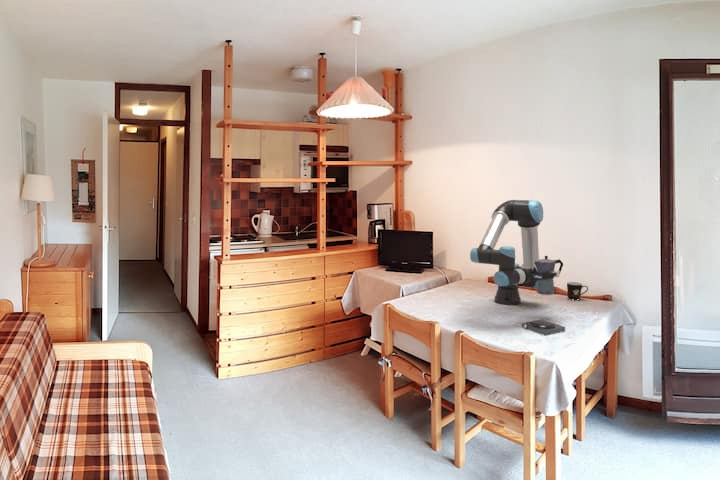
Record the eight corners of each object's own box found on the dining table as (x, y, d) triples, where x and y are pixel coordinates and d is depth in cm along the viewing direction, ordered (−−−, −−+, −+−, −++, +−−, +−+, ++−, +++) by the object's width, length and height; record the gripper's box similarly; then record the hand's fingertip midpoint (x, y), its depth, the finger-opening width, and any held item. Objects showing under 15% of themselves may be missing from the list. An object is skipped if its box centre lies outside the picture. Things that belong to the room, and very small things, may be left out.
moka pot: (528, 290, 250) (530, 254, 247) (555, 290, 251) (558, 254, 248) (536, 295, 240) (539, 257, 237) (564, 295, 242) (567, 257, 239)
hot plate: (541, 323, 238) (542, 318, 238) (565, 330, 226) (565, 326, 226) (520, 327, 231) (520, 322, 231) (543, 335, 219) (543, 330, 219)
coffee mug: (565, 300, 285) (565, 284, 283) (567, 297, 292) (568, 281, 291) (585, 302, 279) (586, 286, 277) (587, 299, 286) (588, 283, 285)
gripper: (505, 279, 245) (536, 275, 256) (536, 287, 227) (568, 282, 237) (505, 265, 245) (536, 261, 255) (537, 272, 226) (569, 268, 236)
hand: (551, 271), depth 246 cm, fingers closed on moka pot, 8 cm apart
